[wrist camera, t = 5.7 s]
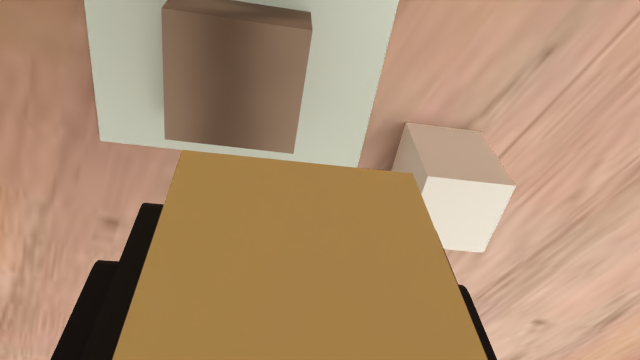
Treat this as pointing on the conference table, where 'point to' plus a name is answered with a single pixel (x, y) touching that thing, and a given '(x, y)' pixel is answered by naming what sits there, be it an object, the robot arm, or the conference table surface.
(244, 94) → the walnut base brick
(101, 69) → the plate
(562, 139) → the conference table surface
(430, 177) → the cream brick
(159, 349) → the mustard brick
